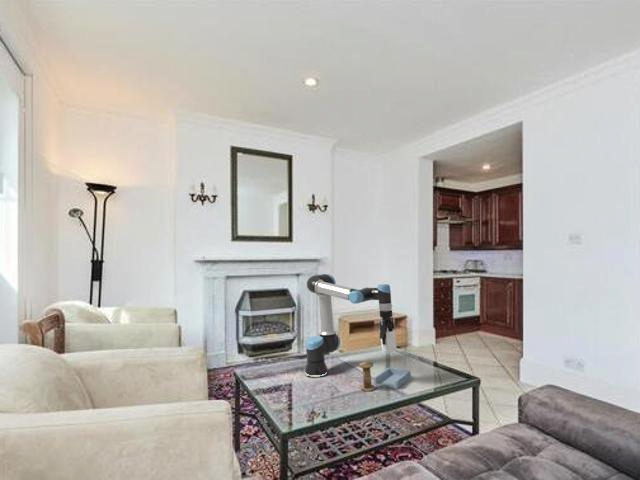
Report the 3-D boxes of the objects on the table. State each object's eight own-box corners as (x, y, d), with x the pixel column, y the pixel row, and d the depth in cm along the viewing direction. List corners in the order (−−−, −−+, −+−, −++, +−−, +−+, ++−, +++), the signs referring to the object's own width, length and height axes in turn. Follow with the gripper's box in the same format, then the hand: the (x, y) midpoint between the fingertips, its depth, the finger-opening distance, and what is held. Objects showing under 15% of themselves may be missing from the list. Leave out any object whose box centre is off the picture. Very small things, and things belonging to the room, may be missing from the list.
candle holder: (397, 352, 201) (395, 331, 201) (380, 352, 203) (379, 332, 203) (397, 347, 210) (395, 328, 211) (381, 348, 212) (379, 328, 213)
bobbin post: (358, 389, 197) (356, 365, 197) (365, 385, 203) (363, 361, 204) (370, 392, 192) (369, 367, 193) (377, 387, 198) (375, 362, 199)
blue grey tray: (374, 384, 203) (374, 377, 203) (389, 374, 219) (388, 367, 219) (397, 389, 194) (397, 381, 194) (410, 377, 210) (410, 370, 211)
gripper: (383, 313, 197) (386, 353, 196) (399, 307, 214) (402, 343, 213) (371, 312, 201) (374, 351, 200) (387, 307, 219) (390, 342, 218)
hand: (388, 347), depth 207 cm, fingers closed on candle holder, 9 cm apart
